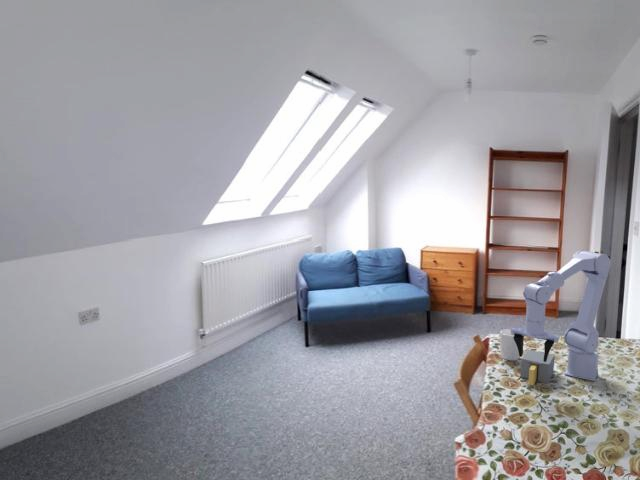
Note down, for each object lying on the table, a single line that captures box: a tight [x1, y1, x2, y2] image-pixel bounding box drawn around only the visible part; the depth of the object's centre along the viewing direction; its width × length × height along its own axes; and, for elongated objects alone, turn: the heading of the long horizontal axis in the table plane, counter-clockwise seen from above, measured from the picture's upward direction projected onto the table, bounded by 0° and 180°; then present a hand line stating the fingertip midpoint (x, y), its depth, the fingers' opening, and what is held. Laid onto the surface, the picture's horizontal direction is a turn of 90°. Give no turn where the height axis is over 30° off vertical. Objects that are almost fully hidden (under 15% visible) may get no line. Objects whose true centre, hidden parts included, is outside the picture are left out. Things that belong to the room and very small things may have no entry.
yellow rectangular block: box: [527, 364, 539, 386], centre depth 166 cm, size 2×10×6 cm, turn 145°
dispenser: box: [519, 349, 555, 384], centre depth 169 cm, size 9×11×7 cm
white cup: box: [499, 328, 520, 361], centre depth 185 cm, size 8×8×10 cm
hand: (532, 358), depth 162 cm, fingers open, 7 cm apart
